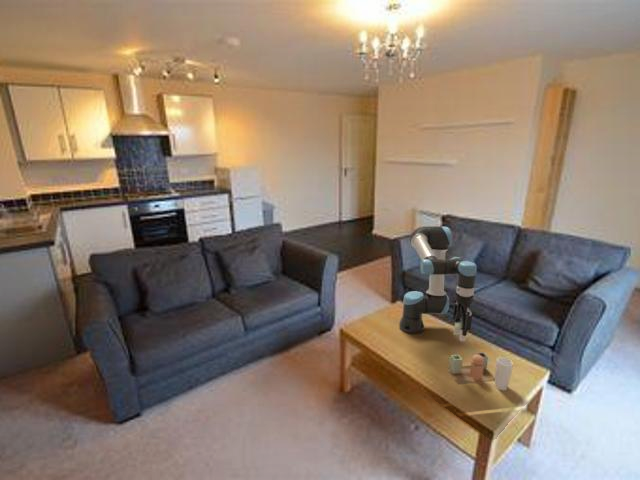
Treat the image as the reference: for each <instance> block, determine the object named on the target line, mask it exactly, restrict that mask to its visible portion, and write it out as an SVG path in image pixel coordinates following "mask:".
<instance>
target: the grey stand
mask: <svg viewBox="0 0 640 480" xmlns="http://www.w3.org/2000/svg"><path fill="white" fill-rule="evenodd" d="M475 355H481V356H482V357H483V359H484V363H483V365H484V368H483V371H486V369H487V367H488V361H489V356H488V355H487V354H486V353H485V352H484V351H483V352H476V353H475Z"/></svg>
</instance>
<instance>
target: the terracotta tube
mask: <svg viewBox="0 0 640 480" xmlns="http://www.w3.org/2000/svg"><path fill="white" fill-rule="evenodd" d="M470 365H471V369H470V376H471V377H472V379H473V380H474V381H475V380H482V375H483V368H484V365H483V364H482V365H476V364H474V363H473V360H471V362H470Z"/></svg>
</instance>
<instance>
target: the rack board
mask: <svg viewBox="0 0 640 480" xmlns="http://www.w3.org/2000/svg"><path fill="white" fill-rule="evenodd" d="M445 369H446V370H447V372H448V373H449V374H450V376H451V377H452V378H453V380H454V381H455V382H456V384H457V385H464V384H465V385H467V384H477V383H487V382H495V375H493V374H492V373H491V372H490V370H488V369H487V368H486V371H483V375H482V380H475V381H474V380H473V379H472V377H471V376H470V369H471V364H470V365H462V368H461V373H457V374H453V373H452V371H451V370H450V366H449V367H445Z"/></svg>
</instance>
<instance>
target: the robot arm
mask: <svg viewBox="0 0 640 480" xmlns="http://www.w3.org/2000/svg"><path fill="white" fill-rule="evenodd" d="M409 241H410V244H411V246H412V247H413V248H414V249H415V250H416V252H417V255H418V257H419V258H420V264H419V268H420V273H421V274H422V275H427V276H429V280H428V281H429V284H428V289H427V290H426V291H425V292H426V294H424V293H423V292H422V291H418V290H412V291H408V292H406V293H405V294H404V296H403V300H402V307H403V308H402V316H401V319H400V321H399V323H398V324H399V325H398V326H399V327H400V328H399V329H400V330H401V329H402V330H403V332H404V331H405V332H404V333H406V332H407V333H406V334H410V333H411V335H412V334H413V335H417V333H419V334H421V333H423V332H424V331H423V330H425V323H424V321H423V315H444V314H446V313H448V311H449V308H450V298H449V295H447V292H446V291H445V290H444V289H445V288H444V287H445V276H456V277H457V279H456V280H457V281H456V291H455V292H456V293H455V299H454V300H453V311H452V320H453V321H454V329H453V335H455V336H456V335H457V336H458V335H459V342H465V341H467V340H466V339H467V335H468V331H471V330H472V329H471V328H472V321H473V315H474V312H473V311H471V307H470V305H471V304H472V303H473V301H474V293H475V284H476V277H477V272H478V271H477V264H476V263H475V262H472V261H469V260H464V259H463V258H461V257H459V256H453V257H451V258H450V259H446V252H448V250H449V247H451V246H452V245H453V234H452V231H451V229H450V228H449V227H447V226H443V225H442V226H440V225H439V226H438V225H437V226H419V227H417V228H416V229H414V230H413V231H412V232H411V234H410V236H409ZM457 323H462V328H461V332H460V333H459V332H457V331H456V329H455V325H456V324H457ZM402 330H401V331H402Z"/></svg>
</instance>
